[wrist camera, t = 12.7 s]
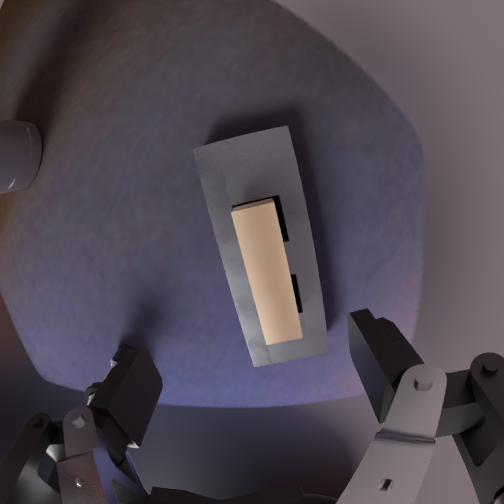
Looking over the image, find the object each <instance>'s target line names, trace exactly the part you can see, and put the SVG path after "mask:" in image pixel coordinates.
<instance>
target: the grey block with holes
mask: <svg viewBox="0 0 504 504" xmlns="http://www.w3.org/2000/svg"><path fill="white" fill-rule="evenodd" d="M193 152H194V156H195V160H196V164H197V168H198V172H199V176H200V180H201V184H202V188H203V191H204V195H205V199H206V203H207V207H208V211H209V214H210V218H211V222H212V226H213V229H214V233H215V237H216V240H217V244H218V248H219V251H220V255H221V258H222V262H223V265H224V269H225V272H226V276H227V279H228V283H229V286H230V290H231V293H232V297H233V300H234V303H235V307H236V310H237V313H238V317H239V320H240V323H241V327H242V330H243V333H244V336H245V340H246V343H247V346H248V349H249V352H250V356H251V359H252V362H253V365H254V367H258V366H264V365H270V364H276V363H281V362H286V361H291V360H296V359H301V358H306V357H311V356H315V355H320V354H324V353H328V352H329V344H328V336H327V328H326V320H325V312H324V305H323V298H322V291H321V285H320V278H319V272H318V266H317V260H316V254H315V249H314V243H313V238H312V232H311V227H310V222H309V217H308V212H307V207H306V202H305V197H304V192H303V188H302V183H301V179H300V174H299V170H298V165H297V161H296V157H295V153H294V149H293V144H292V140H291V136H290V133H289V129H288V126H283V127H277V128H273V129H268V130H263V131H259V132H254V133H250V134H246V135H241V136H237V137H233V138H229V139H226V140H222V141H218V142H214V143H211V144H207V145H204V146H200V147H197V148H194V149H193ZM276 195H278V198H279V202H280V207H281V211H282V216H283V220H284V225H285V229H286V234H282V239H283V244H284V248H285V253H286V257H287V262H288V267H289V271H290V275H292V274H295V278H296V283H297V289H298V294H299V299H295V301H296V306H297V311H298V316H299V321H300V326H301V331H302V336H303V338H299V339H295V340H290V341H285V342H280V343H275V344H270V345H266V341H265V338H264V334H263V330H262V327H261V323H260V319H259V316H258V312H257V308H256V305H255V301H254V297H253V294H252V290H251V286H250V282H249V279H248V275H247V271H246V268H245V264H244V260H243V256H242V253H241V249H240V245H239V241H238V237H237V234H236V230H235V226H234V222H233V218H232V215H231V212H232V210H233V209H234V208H235V207H236V205H237V204H241V203H245V202H250V201H254V200H258V199H263V198H267V197H272V196H276Z"/></svg>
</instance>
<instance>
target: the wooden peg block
mask: <svg viewBox="0 0 504 504" xmlns="http://www.w3.org/2000/svg"><path fill="white" fill-rule="evenodd" d="M231 215H232V218H233V222H234V226H235V230H236V234H237V237H238V241H239V245H240V249H241V253H242V256H243V260H244V264H245V268H246V271H247V275H248V279H249V282H250V286H251V290H252V294H253V297H254V301H255V305H256V308H257V312H258V316H259V319H260V323H261V327H262V330H263V334H264V338H265V341H266V345H270V344H275V343H280V342H285V341H290V340H295V339H299V338H303V336H302V331H301V326H300V321H299V316H298V311H297V306H296V301H295V296H294V291H293V286H292V281H291V276H290V271H289V267H288V262H287V257H286V253H285V248H284V244H283V239H282V235H281V230H280V226H279V221H278V217H277V213H276V208H275V204H274V201H273V199H272V198H271V199H267V200H262V201H258V202H254V203H250V204H245V205H241V206H237V207H235V208H234V209H233V210H232V212H231Z"/></svg>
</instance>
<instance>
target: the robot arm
mask: <svg viewBox="0 0 504 504" xmlns="http://www.w3.org/2000/svg"><path fill="white" fill-rule="evenodd" d="M41 152H42V143H41V136H40V133H39V130H38V128H37V127H36V125H35V124H33V123H31V122H25V121H14V120H2V119H0V194H2V193H7V192H12V191H17V190H22V189H25V188H26V187H28V186H29V185H30V184H31V183H32V181H33V179H34V178H35V176H36V173H37V171H38V168H39V165H40V160H41ZM348 332H349V348H350V354H351V358H352V361H353V363H354V365H355V368H356V370H357V372H358V374H359V377H360V379H361V381H362V384H363V386H364V388H365V391H366V393H367V395H368V398H369V400H370V402H371V405H372V407H373V410H374V412H375V415H376V417H377V420H378V422H379V424H380V423H383V422H384V425H383V427H382V429H381V431H380V432H377V434H376V435H375V437H374V439H373V440H372V442H371V444H370V446H369V448H368V450H367V452H366V454H365V456H364V458H363V460H362V462H361V463H360V465H359V467H358V469H357V471H356V472H355V474H354V476H353V477H352V479H351V481H350V482H349V484H348V486H347V487H346V489H345V490H344V492H343V493H342V495H341V497H340V498H339V499H338V500H337V499H334V498H330V497H326V496H321V495H314V494H303V491H302V488H301V486H298V487H292V488H284V489H275V490H265V491H258V492H254V493H251V494H247V495H243V496H238V497H233V498H229V499H223V500H218V499H213V498H209V497H205V496H202V495H198V494H195V493H191V492H188V491H185V490H177V489H168V488H160V487H153V488H152V491H151V494H150V495H149V494H148V492H147V491H146V490H145V488H144V486H143V484H142V482H141V480H140V478H139V476H138V474H137V471H136V469H135V467H134V464H133V462H132V460H131V458H130V455H129V454H128V453H127V452H126V450H127V447H133V448H140V446H141V443H142V440H143V438H144V435H145V432H146V430H147V427H148V424H149V422H150V419H151V416H152V414H153V412H154V409H155V406H156V404H157V401H158V399H159V396H160V394H161V391H162V387H163V384H162V378H161V376H160V374H159V372H158V370H157V368H156V366H155V364H154V363H153V361H152V359H151V357H150V355H149V353H148V351H147V350H146V349H130V350H127V351H126V352H125V354H124V356H123V357H122V359H121V360H120V362H119V363H117V364H116V365H115V366H114V367H113V368H112V369H111V370H110V372H109V373H108V375H107V376H106V379H104V381H103V382H102V385H101V386H100V387H99V389H98V390H97V392H96V393H95V395H94V397H93V398H92V400H91V401H90V403H89V405H88V406H87V407H78V408H75V409H73V410H72V411H70V412H69V413H68V414H67V416H66V417H65V419H64V420H63V421H55V422H54V421H53V420H52V418H51V417H50V416H49V415H48V414H47V413H45V412H39V413H36V414H34V415H33V416H32V417H31V418H30V419H29V420H28V421H27V423H26V425H25V426H24V428H23V429H22V431H21V432H20V434H19V436H18V437H17V439H16V441H15V442H14V444H13V445H12V447H11V449H10V450H9V452H8V454H7V455H6V457H5V459H4V461H3V462H2V464H1V466H0V504H413V503H414V501H415V498H416V496H417V494H418V491H419V489H420V487H421V484H422V482H423V479H424V476H425V474H426V471H427V468H428V465H429V462H430V460H431V457H432V453H433V450H434V446H435V440H434V438H436V437H442V436H447V435H452V436H453V439H454V441H455V443H456V445H457V447H458V450H459V452H460V454H461V456H462V459H463V461H464V463H465V466H466V468H467V471H468V473H469V475H470V478H471V481H472V483H473V486H474V489H475V491H476V494H477V497H478V500H479V502H480V504H504V358H503V357H502V356H501V355H499V354H496V353H483V354H480V355H479V356H477V357H476V358H474V360H473V361H472V363H471V366H470V369H468V370H463V371H458V372H453V373H444V371H443V370H442V369H441V368H439V367H437V366H435V365H432V364H424V362H423V361H422V359H421V358H420V357H419V355H418V354H417V353H416V351H415V350H414V349H413V347H412V346H411V345H410V343H409V342H408V341H407V339H405V337H404V335H403V334H402V333H400V330H399V329H398V328H397V327H396V325H395V324H394V323H393V322H391V321H389V320H387V319H385V318H383V317H382V318H379V319H375V318H374V316H373V315H372V313H371V312H370V311H369V309H367V308H366V309H362V310H359V311H355V312H351V313H348ZM46 452H47V453H48V454H49V455H50V456H51V457H52V458H53V459H54V460H55V461H56V464H55V466H54V468H53V470H52V473H51V475H50V477H49V479H48V481H47V484H46V483H45V482H43V481H42V480H41V479H40V478H39V476H38V473H37V469H38V466H39V464H40V462H41V460H42V458H43V456H44V455H45V453H46Z"/></svg>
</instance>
